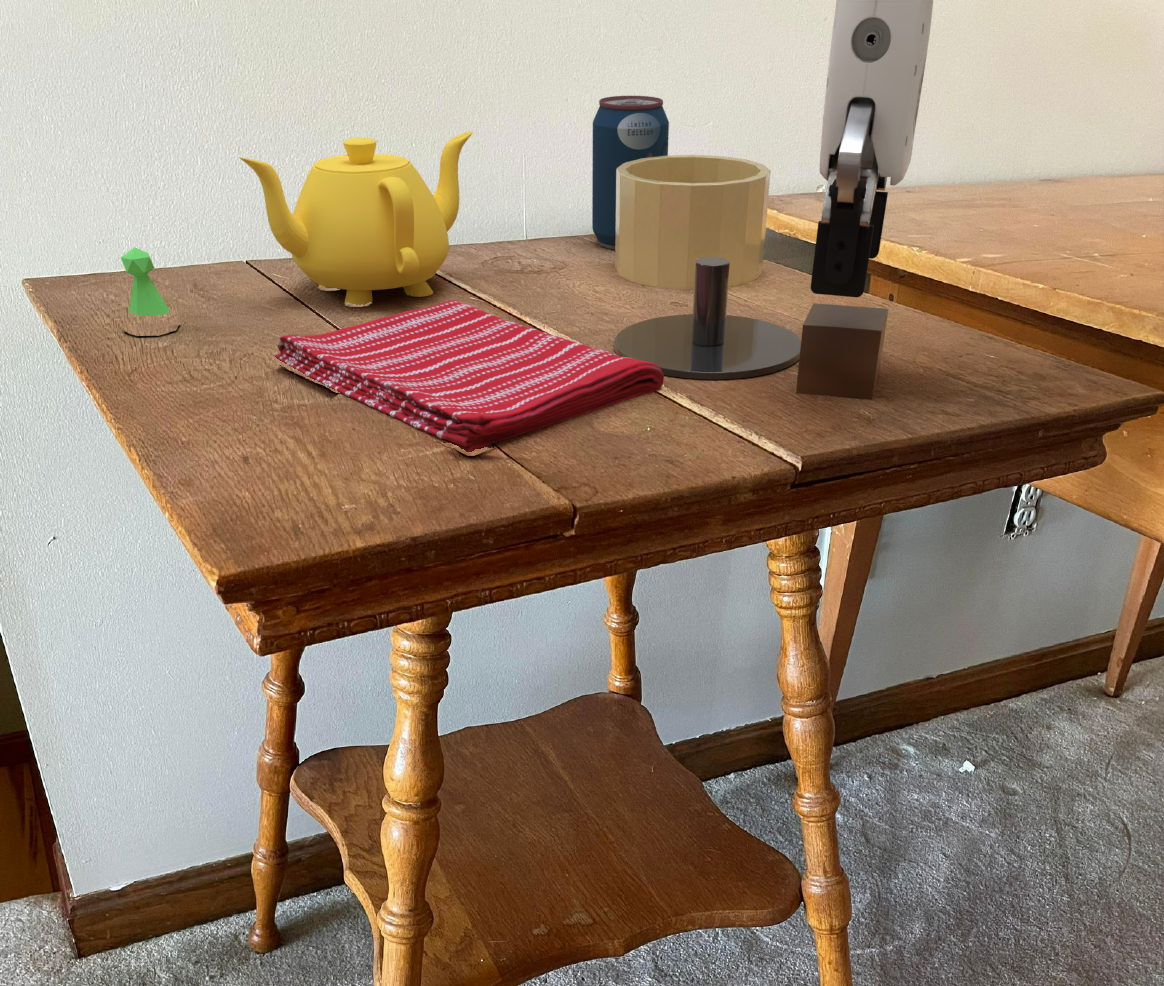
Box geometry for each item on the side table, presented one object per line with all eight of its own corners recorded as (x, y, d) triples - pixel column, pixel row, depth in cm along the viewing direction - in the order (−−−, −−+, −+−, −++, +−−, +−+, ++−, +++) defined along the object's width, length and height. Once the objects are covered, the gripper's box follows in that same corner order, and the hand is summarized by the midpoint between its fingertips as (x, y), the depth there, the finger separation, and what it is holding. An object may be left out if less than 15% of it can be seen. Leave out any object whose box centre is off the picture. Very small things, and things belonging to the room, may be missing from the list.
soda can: (660, 253, 111) (664, 106, 103) (586, 250, 112) (586, 104, 104) (668, 235, 116) (674, 95, 109) (598, 232, 117) (599, 93, 110)
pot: (771, 262, 108) (780, 158, 103) (746, 301, 98) (755, 188, 93) (636, 253, 111) (638, 151, 106) (599, 290, 101) (599, 180, 96)
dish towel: (474, 465, 71) (472, 421, 70) (269, 369, 85) (263, 331, 84) (674, 396, 80) (675, 356, 79) (459, 320, 94) (457, 285, 93)
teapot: (302, 335, 91) (278, 170, 85) (235, 290, 101) (209, 139, 95) (526, 294, 100) (521, 142, 93) (444, 257, 110) (434, 116, 103)
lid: (812, 336, 91) (823, 243, 87) (785, 396, 80) (796, 294, 76) (639, 322, 94) (641, 232, 90) (591, 378, 83) (592, 279, 79)
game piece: (186, 332, 92) (170, 249, 89) (129, 340, 91) (110, 257, 87) (174, 317, 95) (158, 237, 92) (119, 325, 94) (100, 244, 90)
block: (877, 383, 82) (888, 308, 79) (870, 408, 78) (881, 330, 75) (805, 376, 83) (813, 302, 80) (794, 401, 80) (802, 324, 77)
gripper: (953, -42, 59) (894, 317, 69) (965, -55, 72) (914, 247, 82) (800, -46, 60) (765, 305, 70) (840, -59, 73) (805, 239, 84)
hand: (845, 274), depth 76 cm, fingers open, 9 cm apart
